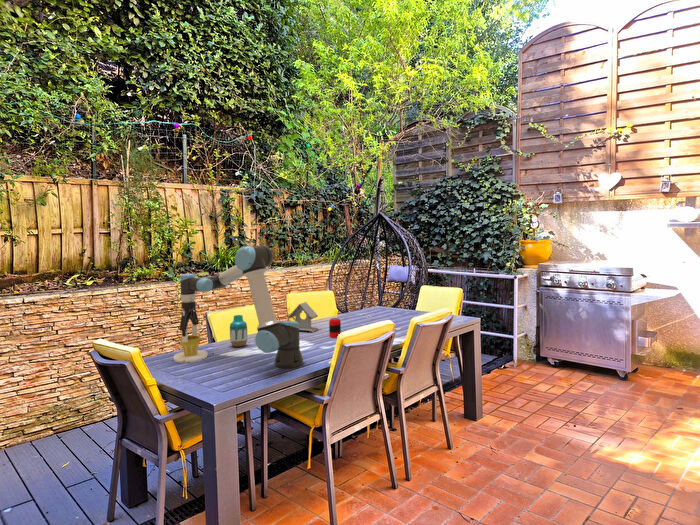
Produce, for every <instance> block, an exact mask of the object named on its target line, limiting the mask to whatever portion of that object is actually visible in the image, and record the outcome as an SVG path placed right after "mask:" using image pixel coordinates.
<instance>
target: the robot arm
mask: <svg viewBox="0 0 700 525" xmlns="http://www.w3.org/2000/svg"><path fill="white" fill-rule="evenodd" d="M273 261H274V253H273V250H272V249H271V248H270V247H268V246H266V245H247V246H242V247H240V248H239V249H238V250H237V251H236V253H235V256H234V263H235V265H233V266H232V267H229V268H228V269H226V270H224V271H222V272H220V273H219V274H217V275H213V276H212V275H211V276H207V277H205V276H204V277H196V276H195V274H194V273H182V274H181V275H180V276H179V277H180V279H179V285H180V286H179V287H180V296H179V297H180V301H181V303H180V304H181V306H180V308H181V309H182V310H184V311H181V318H180V325H179V331H181V338H182V342H188V336H189V335H188V329H187V328H188V326H189V325H188V324H189V321H191V335H196V336H199V335H198V334H199V333H198V325H199V324H200V322H199V317H198V314H197V308H196V307H197V303H196V302H197V301H196V300H197V299H196V292H199V293H200V292H201V293H207V292H208V293H209V292H210V291H213V290H219V289H220V290H221V289H224V288H227V287H228V285H229V284H232V283H233V282H235V281H237V280H239V279H241V278H243V277H246V278H247V282H248V286H249V290H250V294H251V298H252V301H253V304H254V310H255V312H256V313H255V314H256V317H257V321H258V325H257V327H256V330H257V333H256V334H255V338H254V342H255V345H256V346H257V348H258V350H259V351H261V352H263V353H266V354H270V353H275V352H276V355H275V356H274V357H275V358H274V366H275V367H276V368H280V369H293V368H299V367H301V366H303V365H304V357H303V355H302V351H301V349H300V345H301V344H300V330H299V329H300V328H299V323H298V322H296V321H295V320H278V319H277V318H276V315H275V314H276V313H275V311H274V306H273V302H272V299H271V295H270V291H269V287H268V283H267V280H266V277H265V276H266V275H265V272H266V271H267V267H269V266H271V264H272V263H273Z"/></svg>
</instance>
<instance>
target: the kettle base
mask: <svg viewBox="0 0 700 525" xmlns="http://www.w3.org/2000/svg"><path fill="white" fill-rule="evenodd" d="M207 356H208V351H206V350H201V349H198V351H197V354H196V355H194V356H185V355H184V351H180V352H177V353H176V354H174V355H173V362H175V363H179V364H181V363H182V364H183V363H185V364H187V362H190V363H195V361H197V362H200V361H199V360H201V361H203V360H202V359H204V360H206V359H208V357H207ZM205 358H206V359H205Z"/></svg>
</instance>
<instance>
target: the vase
mask: <svg viewBox="0 0 700 525" xmlns="http://www.w3.org/2000/svg"><path fill="white" fill-rule="evenodd" d="M243 318H244V317H243V315H242V314H235V315H233V320H232V322H231V323H230V324H229V340H230V343H231V346H233V347H237V348H238V347H244V346H245V345H246V344H247V342H248V324H247V322H246V321H245V320H244V319H243Z"/></svg>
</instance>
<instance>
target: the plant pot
mask: <svg viewBox="0 0 700 525" xmlns="http://www.w3.org/2000/svg"><path fill="white" fill-rule="evenodd" d="M187 336H188V342H182V337H180V340H179V341H180V346H181V347H182V352H184V355H185V356H194V355H196V354H197V351H198V350H199V344H200V343H201V337H200V336H199V335H198V336H196V335H192V334H190V335H187Z"/></svg>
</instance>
